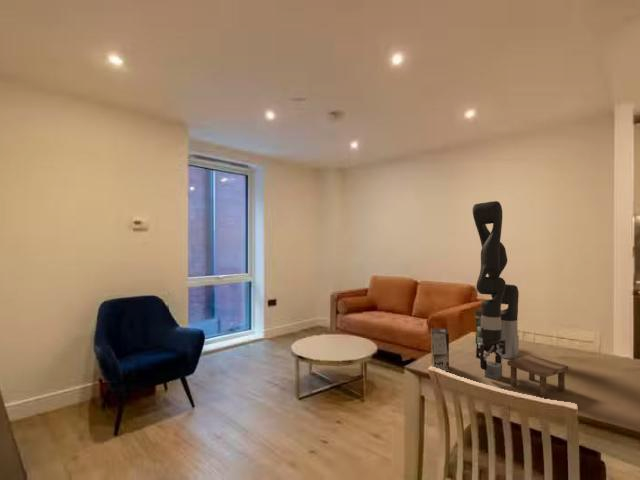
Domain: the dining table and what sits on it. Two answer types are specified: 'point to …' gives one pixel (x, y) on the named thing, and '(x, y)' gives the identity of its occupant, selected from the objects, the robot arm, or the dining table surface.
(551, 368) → the footstool
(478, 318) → the coffee jar
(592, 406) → the dining table surface
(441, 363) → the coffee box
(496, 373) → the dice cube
